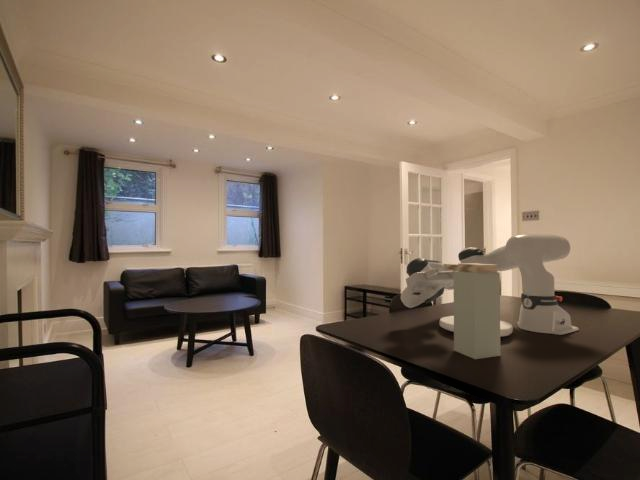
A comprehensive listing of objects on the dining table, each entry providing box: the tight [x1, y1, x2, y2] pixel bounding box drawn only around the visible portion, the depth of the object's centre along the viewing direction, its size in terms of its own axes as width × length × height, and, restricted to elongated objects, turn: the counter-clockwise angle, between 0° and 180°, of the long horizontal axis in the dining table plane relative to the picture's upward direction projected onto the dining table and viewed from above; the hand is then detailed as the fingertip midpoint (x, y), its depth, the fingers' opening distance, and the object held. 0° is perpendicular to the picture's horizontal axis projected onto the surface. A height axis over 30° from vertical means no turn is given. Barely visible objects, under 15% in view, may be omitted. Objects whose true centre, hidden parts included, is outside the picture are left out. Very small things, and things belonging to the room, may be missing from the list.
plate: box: [438, 315, 514, 338], centre depth 131 cm, size 28×6×27 cm
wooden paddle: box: [443, 263, 498, 273], centre depth 110 cm, size 18×7×2 cm, turn 19°
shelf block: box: [453, 271, 502, 360], centre depth 106 cm, size 10×9×26 cm
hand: (447, 270), depth 118 cm, fingers open, 8 cm apart
